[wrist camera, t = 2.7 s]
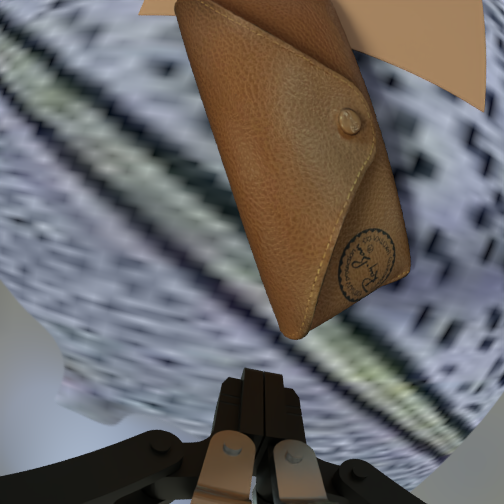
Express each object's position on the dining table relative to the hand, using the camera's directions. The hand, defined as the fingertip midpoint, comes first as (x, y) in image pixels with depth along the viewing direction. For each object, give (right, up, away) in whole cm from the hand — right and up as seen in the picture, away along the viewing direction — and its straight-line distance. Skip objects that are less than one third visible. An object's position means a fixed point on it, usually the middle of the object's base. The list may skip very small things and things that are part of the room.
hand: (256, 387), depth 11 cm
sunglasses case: (+3, +11, +4) cm, 12 cm away
